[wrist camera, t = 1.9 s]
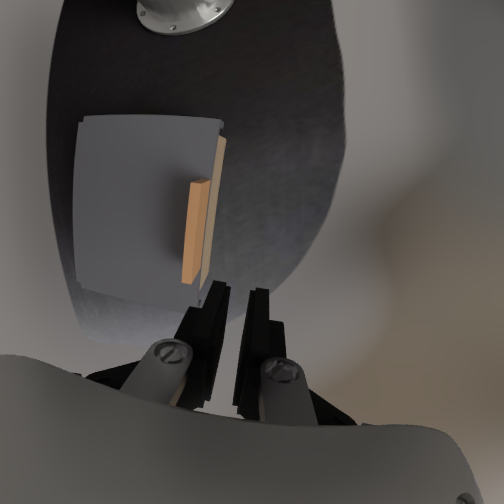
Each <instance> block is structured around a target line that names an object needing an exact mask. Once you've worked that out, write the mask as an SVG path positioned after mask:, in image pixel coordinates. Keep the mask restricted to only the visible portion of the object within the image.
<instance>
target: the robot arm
mask: <svg viewBox="0 0 504 504" xmlns="http://www.w3.org/2000/svg"><path fill="white" fill-rule="evenodd" d="M137 1H138V3H137V15H138V19H139V20H140V22H141V23H142V24H143V25H144V26H145V27H146V28H147V29H149V30H150V31H152V32H155V33H157V34H161V35H182V34H188V33H191V32H195V31H198V30H200V29H203V28H205V27H207V26H209V25H211V24H212V23H214V22H215V21H217V20H218V19H219V18H221V17H222V16H223V15H224V14H225V13H226V12H227V11H228V10H229V8H230V7H231V5H232V4H233V2H234V0H137ZM218 11H219V12H218ZM174 29H175V30H174ZM230 290H231V287H230V286H226V282H221V281H215V280H214V281H213V283H212V285H211V288H210V290H209V292H208V295H207V297H206V300H205V302H204V305H203V307H202V308H197V307H192V306H189V308H188V309H187V311H186V313H185V316H184V318H183V320H182V322H181V324H180V326H179V328H178V330H177V332H176V334H175V336H174V338H173V339H162V340H159V341H157V342H155V343H154V344H153V345H152V346H151V347H150V348H149V350H148V351H147V352H146V354H145V355H144V356H143V358H142V359H141V360H139V361H136V362H132V363H129V364H125V365H122V366H118V367H114V368H110V369H107V370H103V371H99V372H95V373H92V374H89V375H88V376H87V377H85V378H83V377H82V375H81V374H78V373H71V372H68V371H66V370H63V369H60V368H58V367H56V366H53V365H51V364H48V363H45V362H42V361H40V360H37V359H33V358H28V357H25V356H18V355H0V504H484V502H483V499H482V496H481V493H480V490H479V487H478V485H477V482H476V480H475V478H474V475H473V473H472V470H471V468H470V466H469V464H468V462H467V460H466V458H465V456H464V455H463V453H462V451H461V449H460V448H459V446H458V445H457V443H456V442H455V441H454V440H453V439H452V438H451V437H450V436H449V435H448V434H446V433H444V432H442V431H440V430H437V429H434V428H429V427H425V426H418V425H401V424H399V425H398V424H391V425H390V424H389V425H372V424H366V423H362V424H361V425H357V424H356V423H355V421H354V420H353V419H352V418H351V417H349V416H348V415H346V414H345V413H343V412H342V411H340V410H339V409H337V408H336V407H334V406H333V405H331V404H330V403H328V402H327V401H326V400H324V399H323V398H321V397H320V396H318V395H317V394H316V393H314V392H313V391H311V390H310V389H309V388H308V385H307V381H306V378H305V374H304V371H303V369H302V367H301V366H300V365H299V364H298V363H296V362H294V361H292V360H290V359H287V358H286V346H285V334H284V324H283V322H280V321H273V320H269V289H262V288H256V290H255V291H253V290H250V295H249V301H248V307H247V312H246V318H245V324H244V329H243V335H242V340H241V346H240V353H239V360H238V368H237V375H236V382H235V389H234V396H233V404H232V405H234V406H238V408H237V414H240V415H241V416H243V418H245V419H239V418H233V417H226V416H220V415H215V414H209V413H204V412H199V411H194V410H193V409H195V408H198V407H199V408H203V405H204V401H205V400H206V401H210V399H211V394H212V390H213V385H214V381H215V377H216V372H217V368H218V363H219V359H220V354H221V350H222V345H223V340H224V333H225V326H226V319H227V311H228V304H229V297H230Z"/></svg>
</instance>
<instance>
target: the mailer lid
mask: <svg viewBox="0 0 504 504" xmlns="http://www.w3.org/2000/svg"><path fill="white" fill-rule="evenodd" d="M223 126H224V122H223V121H222V120H220V119H212V118H201V117H188V116H171V115H97V116H84V121H83V122H79V125H78V133H77V141H76V151H75V162H74V178H73V240H74V256H75V268H76V278H77V282H79V283H81V288H83V289H87V290H91V291H94V292H98V293H101V294H105V295H109V296H113V297H117V298H120V299H124V300H128V301H132V302H137V303H141V304H145V305H149V306H154V307H158V308H162V309H167V310H172V311H176V312H181V313H186V311H187V309H188V308H189V306H192V307H197V308H200V306H201V300H199V291H200V280H201V269H202V259H203V249H204V240H205V231H206V223H207V215H208V207H209V199H210V191H211V184H212V177H213V170H214V163H215V156H216V150H217V143H218V137H219V131H220V129H223Z"/></svg>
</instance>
